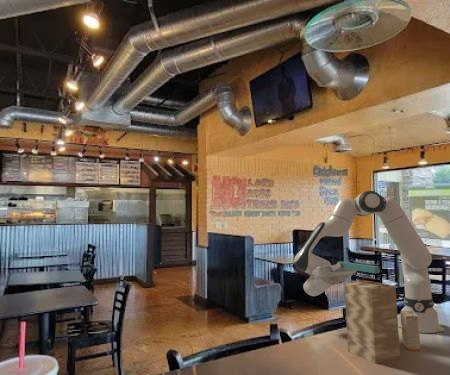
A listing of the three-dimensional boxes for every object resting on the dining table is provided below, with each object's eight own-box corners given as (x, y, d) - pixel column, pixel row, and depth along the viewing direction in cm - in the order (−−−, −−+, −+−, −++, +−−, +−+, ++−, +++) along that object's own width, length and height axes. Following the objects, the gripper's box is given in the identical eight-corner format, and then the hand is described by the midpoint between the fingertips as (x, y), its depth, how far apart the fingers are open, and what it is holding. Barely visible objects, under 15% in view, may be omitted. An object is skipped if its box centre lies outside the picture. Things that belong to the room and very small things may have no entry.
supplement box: (421, 350, 140) (418, 316, 142) (407, 350, 141) (405, 315, 143) (414, 343, 148) (412, 310, 150) (402, 343, 149) (399, 310, 151)
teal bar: (337, 267, 155) (337, 261, 155) (341, 267, 156) (341, 261, 156) (375, 273, 136) (374, 266, 136) (379, 273, 137) (379, 266, 137)
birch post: (348, 351, 141) (344, 281, 144) (371, 346, 146) (367, 278, 149) (375, 363, 129) (371, 286, 131) (400, 357, 133) (395, 283, 136)
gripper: (305, 271, 161) (321, 258, 150) (341, 268, 169) (359, 255, 158) (310, 285, 157) (327, 272, 147) (347, 281, 165) (365, 269, 155)
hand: (344, 263), depth 153 cm, fingers closed on teal bar, 2 cm apart
